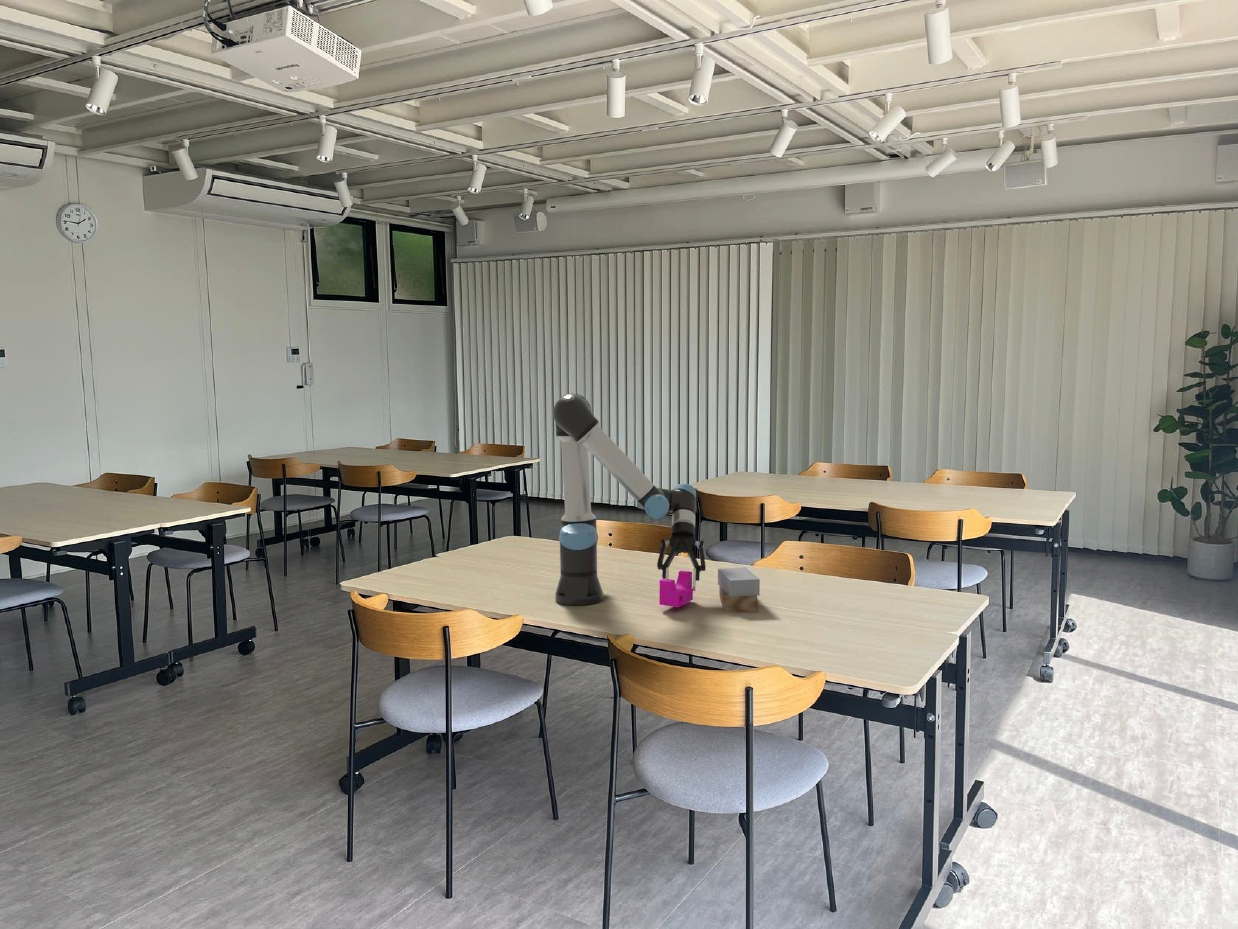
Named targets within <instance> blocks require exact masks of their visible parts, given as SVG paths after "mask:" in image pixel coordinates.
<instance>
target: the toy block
mask: <svg viewBox="0 0 1238 929" xmlns="http://www.w3.org/2000/svg"><path fill="white" fill-rule="evenodd" d="M693 592H694V591H693V571H689V570H680V571H678V574H677V579H676V581H675V579H670V578H669V579H663V578H662V579H660V580H659V596H658V597H659V606H665V607H672V608H680V607H682V606H684V605H686V604H687V603H689V602H691V601H693V600H694V593H693Z"/></svg>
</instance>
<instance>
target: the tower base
mask: <svg viewBox="0 0 1238 929" xmlns="http://www.w3.org/2000/svg"><path fill="white" fill-rule="evenodd" d="M718 588H719V592H718V593H719V594H718V596H720V597H719V601H720V603H722V604H721V606H722V610H723V613H758V596H737V597H730V596H729V595H728V594H727V593H726V592H725V591H724V590H723V589H722V588H721V587H720V586H719V585H718Z"/></svg>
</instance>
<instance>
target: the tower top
mask: <svg viewBox="0 0 1238 929" xmlns="http://www.w3.org/2000/svg"><path fill="white" fill-rule="evenodd" d="M760 582H761V580H760V578H758V576H757V575H755V574H754V573H753V572H752V571H750V570H749V569H748V568H747V567H746V566H745V567H722V568H717V585H718V587H719V586H720V587H721V588H722V589H723V590H724V591H725V592H726V593H727V594H728V595H729V596H730V597H737V596H757V597H758V596H760V595H761V594H760V593H761V592H760Z"/></svg>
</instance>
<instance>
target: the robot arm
mask: <svg viewBox="0 0 1238 929" xmlns="http://www.w3.org/2000/svg"><path fill="white" fill-rule="evenodd" d="M552 410H553V411H552V415H553V421H554V422H555V423H554V424H555V437H556V438H557V439H558V440H559V441H560V446H561V463H562V464H561V465H562V466H561V467H562V478H563V480H562V481H563V496H564V497H563V498H564V514H563V516H561V518H560V525H561V526H560V527H561V528H560V531H559V536H558V540H559V555H560V556H559V558H560V559H559V560H560V561H559V562H560V565H559V569H560V576H559V580H558V584H557V587H556V591H555V594H554V595H555V596H554V597H555V602H557V603H558V604H562V605H565V606H566V605H567V606H587V605H594V604H597V603H600V602H602V601H603V600H604V592H603V588H602V586H601V582H600V579H599V577H598V541H599V535H598V531H597V530H598V527H597V526H598V525H597V516H596V515H595V514H594V513H593V512H592V504H591V485H590V483H591V482H590V468H589V467H590V466H589V453H591V455H592V456H594V458H595V459H596V460H597V461H598V462H599V463H600V464H601V465H602V466H603V467H604V468H605V469H606V470H607V472H608V473H609V474H610V475H611V476H612V477H613V478H614V479H615V480H616V481H617V482H618V483H619V484H620V485H621V486H622V487H623V488H624V489H625V490H626V492H628V493H629V494H630V496H632V498H633V499H634V500H635V501H636V508H638V509H641V510H644V511H645V513H646V514H647V516H649V517H650V518H652V519H654V520H655V519H657V520H658V519H662V518H664V517H665V516H667V514H668V513H672V514H671V515H672V516H671V530H670V532H671V533H670V539H668V540H665V539H664V538H663V539H661V540H660V545H661V546H660V552H659V555H658V560H657V562H656V563H657V564H656V566H657V567H656V568H657V570H658V571H659V570H660V571H661V572H662V573H661V576H662V577H661V578H662V579H670V577H669V576H670V568H669V567H670V566H671V563H672V562H673V560H674V558H675V556H677V555H678V554H681V553H683V554H687V555H688V557H689V559H690V561H691V564H692V566H693V568H692V570H693V571H692V588H693V592H696V585H697V584H696V582H698V581H700V574H701V572H705V571H706V569H707V567H706V560H705V554H704V548H705V541H704V540H700V541H698V540H696V538H695V535H696V513H697V512H696V511H697V491H696V488H695V487H694V486H693V485H691V484H689V483H682V484H676V485H675V487H674V489H667V488H659V487H657V486H655V484H654V483H653V482H652V481H651V480H650V479H649V478H648V477H647V476H646V475H645V474H644V473H643V472H642V471H641V469H640V468H639V467H638V466H637V465H636V464H635V463H634V462H633V461H632V460H631V459H630V457H629V456H628V455H626V454H625V452H624V451H623V450H622V449H621V448H620V447H619V446H618V445H617V444H616V442H614V441H613V439H612V438H611V437H610V436H609V435H608V434H607V433H606V432H605V431H604V430H603V429H602V428H601V427H600V423H601V422H600V420H598V419H597V418H596V417H595V415H594V414H593V413H592V407H591V404H590V403H589V401H588V400H587V398H586V397H585V396H583V395H582V394H580V393H579V394H578V393H567V394H564V395H562V396H561V397H560V398H559V399H558V400H556V402H555V404H554V406H553V409H552ZM669 545H670V546H671V550H670V552H669V553H668V556H667V557H666V559H665V555H666V552H667V551H666V550H667V548H669ZM695 546H696V549H698V554H699V560H700V564H699V562H698V560H697V558H696V555H695V554H694V551H693V549H694V548H695ZM664 559H665V560H664Z"/></svg>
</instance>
